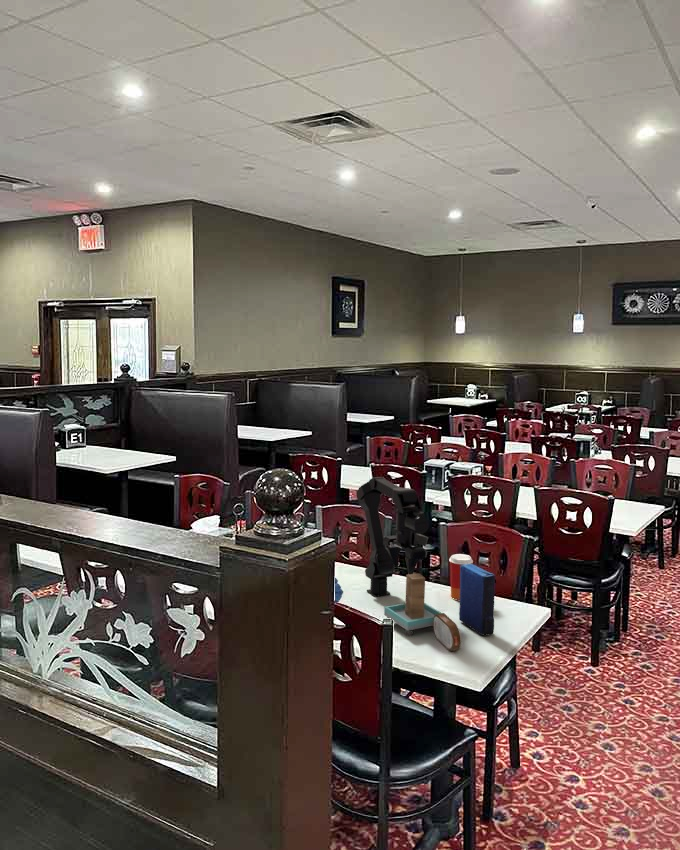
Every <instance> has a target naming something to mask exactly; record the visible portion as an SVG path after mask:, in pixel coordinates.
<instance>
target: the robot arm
mask: <svg viewBox="0 0 680 850" xmlns="http://www.w3.org/2000/svg"><path fill="white" fill-rule="evenodd" d="M355 494H356V495H355V496H356V498H357V501H358V505H359V507H361V508H362V510H363V511H364V513H365V518H366V524H367V528H368V529H367V530H368V534H369V541H370V545H371V554H370V556H369V559H368V560H369V564H368V566H367V567H366V569H364V573H365V577H366V578H368V579H370V588H369V589H366V592H367V593H368V594H370V595H371V596H374V597H376V598H377V597H381V596H388V595H391V592H389V591H388V578H390V577H393V575H394V572H395V571H394V570H395V568H399V562H400V556H401V555H400V553H401V551H402V550H404V554H405V556H404V559H405V563H406V569H407V572H408V574H414V572H415V569H416V567H417V564H418V562H420V560H423V559H424V558H427V550H426V548H424V547H427V543H428V540H429V537H428V536H426V535H424V534H425V533H427V531H428V530H429V527H430V522H429V519H428V518H427V517H426V516H425V512H423V505H422V503H421V501H420V498H419V495H418V494H417V491H416V490H415V489H413V488H409V487H400V486H399V485H397V484H394V483H393V482H391V481H389V480H388V479H386V478H385V477H383V476H377V477H371V478H370V479H369V480H368V481H367V482H365V483H363V484H362V485H360V486H359V488H358V489H357V490H356V493H355ZM382 495H385V496H386V497H388V498H390V499H391V501H392V504H393V505H395V507H394V508H393V511H394V512H396V521H395V522H396V527H395V528H393V532H394V533H395V535H388V536H384V532H383V527H382V521H381V517H380V511H379V508H380V505H381V502H382V498H381V497H382ZM420 545H421V546H420ZM422 546H423V547H422Z"/></svg>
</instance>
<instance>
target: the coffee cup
mask: <svg viewBox="0 0 680 850" xmlns="http://www.w3.org/2000/svg"><path fill="white" fill-rule="evenodd" d="M448 560H449V562H450V567H449V568H450V597H452V598H454V599H457V600H456V601H458V600H460V566H461V565H465V564H473V562H474V560H473V559H472V557H471V556H470V555H468V554H463V553H456V554H452V555H451V556H450V557H449V559H448ZM452 598H451V599H452ZM454 599H453V600H454Z"/></svg>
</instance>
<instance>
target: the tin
mask: <svg viewBox="0 0 680 850" xmlns="http://www.w3.org/2000/svg"><path fill="white" fill-rule="evenodd" d="M433 624H434V625H433V632H434V635H435V637H436V640H437V641H439V642H440V644H441V645H442V646H444V648H446V650H448V652H449V651H450V652H451V651H459V650H460V648H461V644H462V639H461V632H460V629H459V627H458V625H457V624H456V622H454V620H452V619H451V618H450V617H449V616H448V615H447V614H446V613H444V612H441V614H436V615H435V616H434V618H433Z"/></svg>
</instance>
